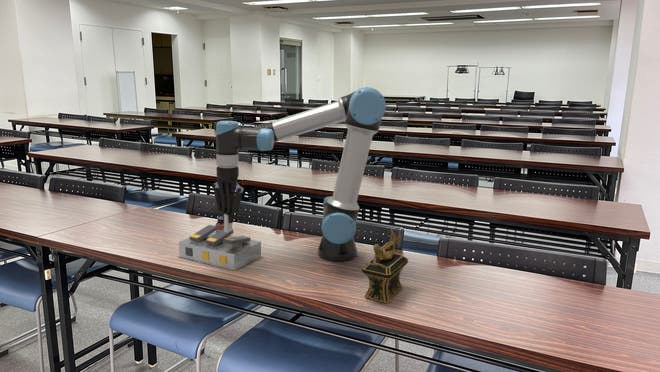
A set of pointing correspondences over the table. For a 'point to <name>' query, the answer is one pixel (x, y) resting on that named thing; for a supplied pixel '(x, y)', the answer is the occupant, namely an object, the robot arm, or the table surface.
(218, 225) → the supplement bottle
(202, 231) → the switch
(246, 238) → the switch
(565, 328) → the table surface
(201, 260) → the console
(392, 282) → the decorative box
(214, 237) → the switch
